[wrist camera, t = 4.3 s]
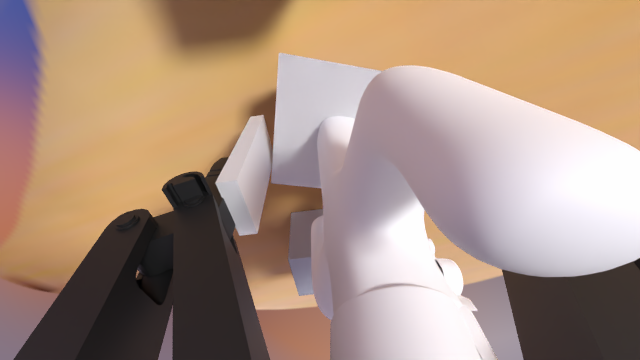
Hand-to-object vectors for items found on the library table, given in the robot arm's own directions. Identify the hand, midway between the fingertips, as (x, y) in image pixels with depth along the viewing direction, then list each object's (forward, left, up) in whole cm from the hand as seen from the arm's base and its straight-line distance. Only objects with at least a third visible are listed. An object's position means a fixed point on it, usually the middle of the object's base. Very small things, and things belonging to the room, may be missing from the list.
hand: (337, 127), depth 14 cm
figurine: (0, 0, -3) cm, 3 cm away
